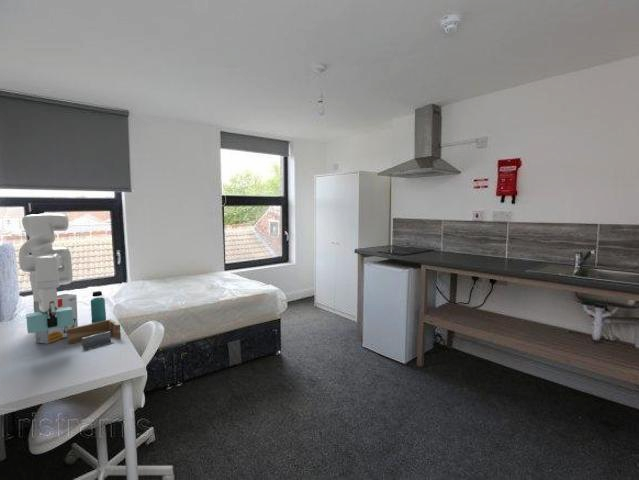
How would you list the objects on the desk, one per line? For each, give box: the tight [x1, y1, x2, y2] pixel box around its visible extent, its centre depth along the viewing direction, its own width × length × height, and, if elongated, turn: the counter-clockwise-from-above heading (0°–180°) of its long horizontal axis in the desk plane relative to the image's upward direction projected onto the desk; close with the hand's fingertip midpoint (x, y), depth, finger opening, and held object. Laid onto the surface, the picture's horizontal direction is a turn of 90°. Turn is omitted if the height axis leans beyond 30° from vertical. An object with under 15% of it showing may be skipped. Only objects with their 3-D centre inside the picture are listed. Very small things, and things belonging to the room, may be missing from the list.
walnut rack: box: [67, 319, 122, 345], centre depth 154 cm, size 12×18×7 cm
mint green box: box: [25, 307, 73, 334], centre depth 140 cm, size 6×15×7 cm, turn 135°
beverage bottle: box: [90, 290, 107, 324], centre depth 169 cm, size 6×7×20 cm
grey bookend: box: [81, 331, 115, 352], centre depth 149 cm, size 5×11×4 cm, turn 141°
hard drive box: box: [33, 293, 79, 345], centre depth 158 cm, size 16×8×20 cm, turn 168°
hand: (50, 324), depth 140 cm, fingers closed on mint green box, 5 cm apart
